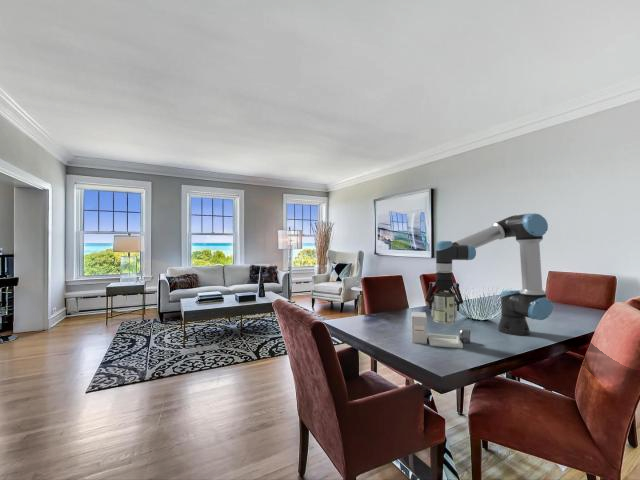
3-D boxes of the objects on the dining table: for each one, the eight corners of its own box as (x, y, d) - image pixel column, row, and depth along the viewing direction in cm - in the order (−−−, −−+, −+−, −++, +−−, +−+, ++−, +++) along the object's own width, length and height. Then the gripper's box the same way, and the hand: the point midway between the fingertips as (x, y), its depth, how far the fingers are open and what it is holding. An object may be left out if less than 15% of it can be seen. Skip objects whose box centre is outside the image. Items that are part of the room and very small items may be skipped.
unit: (425, 337, 165) (425, 312, 165) (426, 344, 154) (426, 317, 154) (411, 336, 167) (411, 311, 167) (411, 342, 155) (411, 316, 156)
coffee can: (437, 318, 163) (437, 290, 163) (458, 321, 156) (458, 292, 156) (429, 321, 156) (429, 292, 156) (450, 325, 149) (450, 295, 149)
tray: (457, 339, 161) (457, 335, 161) (462, 348, 147) (462, 344, 147) (427, 337, 165) (427, 333, 165) (429, 346, 150) (429, 341, 150)
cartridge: (469, 341, 158) (469, 329, 158) (471, 344, 153) (471, 332, 153) (458, 340, 159) (458, 328, 160) (460, 343, 155) (460, 331, 155)
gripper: (467, 272, 157) (467, 316, 157) (419, 270, 163) (419, 313, 162) (470, 273, 150) (470, 320, 149) (420, 271, 155) (420, 317, 155)
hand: (444, 316), depth 156 cm, fingers closed on coffee can, 10 cm apart
